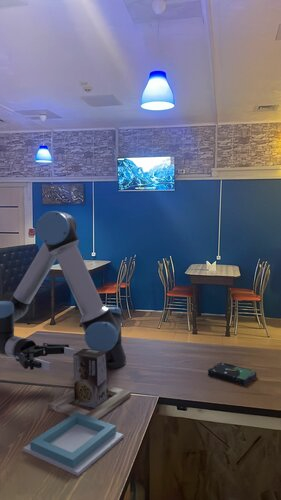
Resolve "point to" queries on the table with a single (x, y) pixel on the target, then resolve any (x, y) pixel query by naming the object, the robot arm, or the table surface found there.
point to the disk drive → (232, 373)
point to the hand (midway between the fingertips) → (65, 360)
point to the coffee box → (90, 377)
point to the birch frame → (98, 412)
